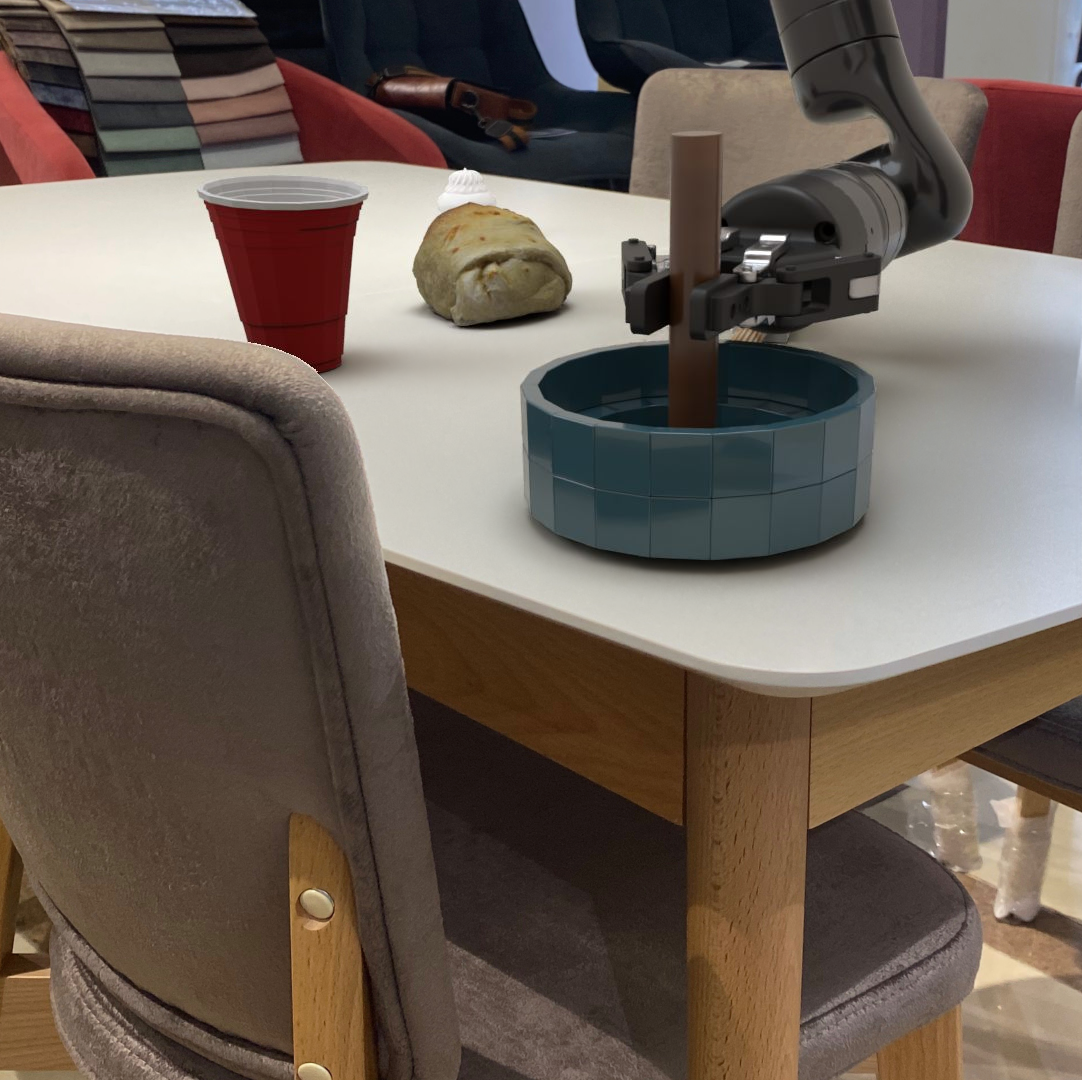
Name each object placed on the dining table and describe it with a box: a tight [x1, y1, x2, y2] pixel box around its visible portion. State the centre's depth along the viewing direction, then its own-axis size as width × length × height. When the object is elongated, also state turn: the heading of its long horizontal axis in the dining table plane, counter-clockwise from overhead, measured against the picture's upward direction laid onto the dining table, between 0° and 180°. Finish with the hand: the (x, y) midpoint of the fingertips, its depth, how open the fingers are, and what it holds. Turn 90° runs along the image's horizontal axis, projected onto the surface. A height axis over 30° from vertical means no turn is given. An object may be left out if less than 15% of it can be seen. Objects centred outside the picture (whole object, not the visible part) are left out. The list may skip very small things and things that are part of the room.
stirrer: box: [668, 130, 724, 429], centre depth 57 cm, size 4×4×16 cm
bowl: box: [519, 339, 878, 561], centre depth 59 cm, size 16×16×6 cm
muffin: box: [436, 167, 498, 214], centre depth 133 cm, size 6×6×7 cm
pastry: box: [411, 202, 574, 327], centre depth 100 cm, size 14×12×8 cm
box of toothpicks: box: [728, 326, 791, 344], centre depth 89 cm, size 4×3×20 cm
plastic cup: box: [196, 174, 370, 373], centre depth 85 cm, size 11×11×12 cm
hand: (668, 313), depth 54 cm, fingers closed on stirrer, 2 cm apart
